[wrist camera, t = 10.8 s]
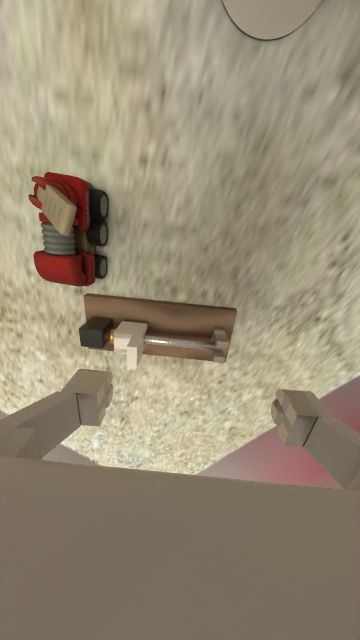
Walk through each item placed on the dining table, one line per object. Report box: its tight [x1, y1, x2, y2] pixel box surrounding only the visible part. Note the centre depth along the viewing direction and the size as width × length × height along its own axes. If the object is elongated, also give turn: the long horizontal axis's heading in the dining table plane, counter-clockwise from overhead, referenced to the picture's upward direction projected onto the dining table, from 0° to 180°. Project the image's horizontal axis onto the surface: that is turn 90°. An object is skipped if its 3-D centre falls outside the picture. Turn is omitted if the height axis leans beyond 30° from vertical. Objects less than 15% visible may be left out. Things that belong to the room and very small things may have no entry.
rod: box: [79, 316, 225, 351], centre depth 39 cm, size 4×26×6 cm, turn 85°
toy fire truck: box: [29, 172, 108, 286], centre depth 29 cm, size 11×16×18 cm
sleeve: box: [114, 321, 147, 370], centre depth 36 cm, size 4×5×9 cm
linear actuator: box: [84, 294, 237, 363], centre depth 40 cm, size 12×30×8 cm, turn 85°
